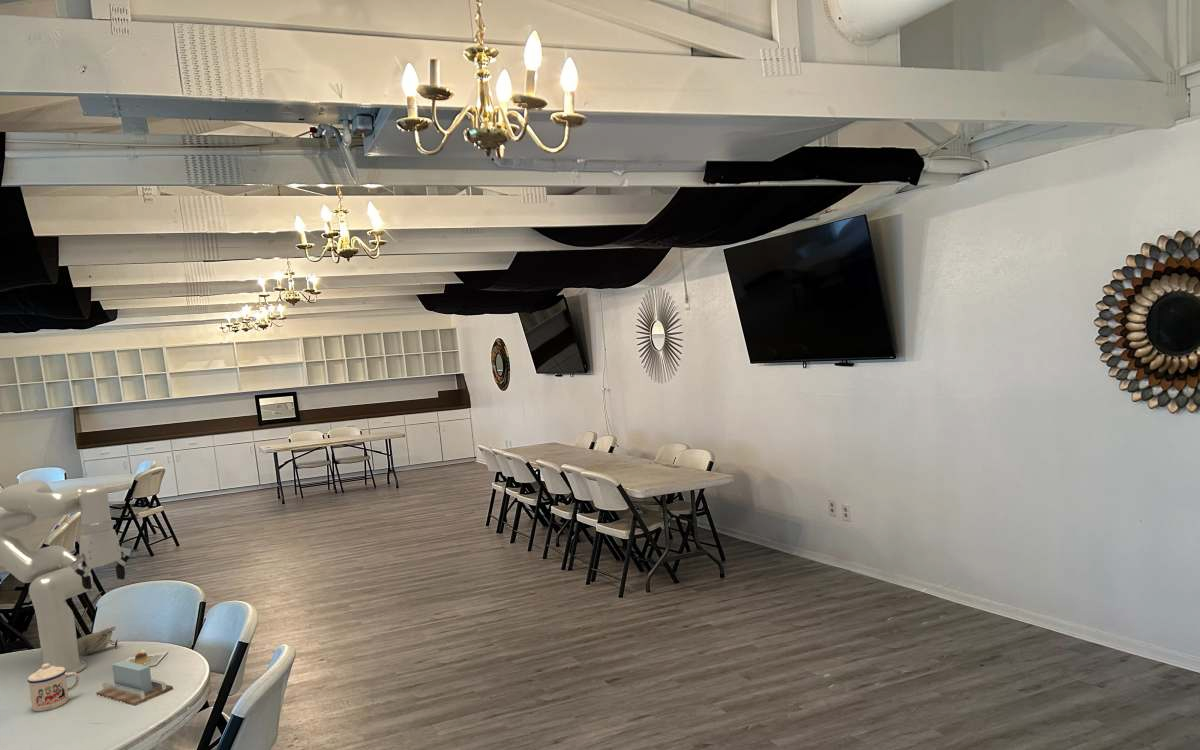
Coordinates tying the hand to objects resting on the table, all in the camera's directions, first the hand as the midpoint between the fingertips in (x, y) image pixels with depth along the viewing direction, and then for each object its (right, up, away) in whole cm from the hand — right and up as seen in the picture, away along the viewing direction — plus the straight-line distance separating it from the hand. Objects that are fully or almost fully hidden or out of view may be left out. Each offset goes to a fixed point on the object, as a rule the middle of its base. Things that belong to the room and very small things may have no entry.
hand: (104, 583), depth 251 cm
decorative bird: (-19, -30, +25) cm, 43 cm away
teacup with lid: (-4, -30, -16) cm, 34 cm away
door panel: (+17, -27, -14) cm, 34 cm away
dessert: (+6, -28, +10) cm, 31 cm away
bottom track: (+17, -27, -14) cm, 35 cm away
